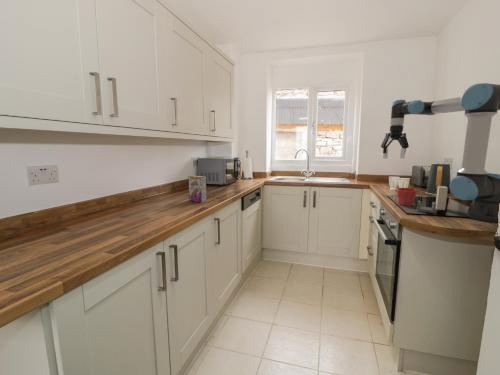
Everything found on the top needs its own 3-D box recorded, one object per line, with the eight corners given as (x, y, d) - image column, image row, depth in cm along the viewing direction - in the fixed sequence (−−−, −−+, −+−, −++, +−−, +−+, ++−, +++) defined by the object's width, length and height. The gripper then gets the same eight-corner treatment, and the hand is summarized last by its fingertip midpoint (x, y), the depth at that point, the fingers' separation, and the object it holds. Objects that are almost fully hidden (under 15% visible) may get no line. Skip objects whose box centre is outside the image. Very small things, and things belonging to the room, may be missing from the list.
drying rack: (434, 210, 153) (435, 201, 152) (436, 213, 146) (437, 204, 146) (416, 208, 157) (417, 200, 156) (416, 211, 151) (417, 202, 150)
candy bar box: (188, 200, 175) (187, 175, 173) (194, 199, 179) (193, 175, 177) (201, 203, 169) (200, 177, 167) (206, 201, 173) (206, 176, 171)
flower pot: (419, 206, 163) (421, 190, 162) (401, 206, 163) (402, 190, 162) (409, 202, 174) (411, 187, 172) (392, 202, 174) (393, 187, 172)
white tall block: (443, 208, 159) (446, 186, 157) (445, 210, 154) (447, 187, 152) (435, 207, 161) (437, 185, 159) (436, 209, 156) (439, 187, 154)
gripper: (407, 126, 179) (404, 157, 183) (376, 125, 172) (373, 158, 176) (417, 125, 172) (413, 158, 176) (385, 124, 165) (382, 158, 169)
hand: (393, 158), depth 176 cm, fingers open, 13 cm apart
